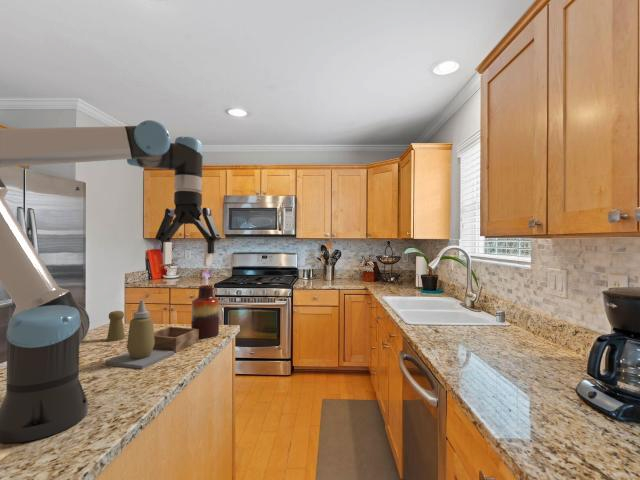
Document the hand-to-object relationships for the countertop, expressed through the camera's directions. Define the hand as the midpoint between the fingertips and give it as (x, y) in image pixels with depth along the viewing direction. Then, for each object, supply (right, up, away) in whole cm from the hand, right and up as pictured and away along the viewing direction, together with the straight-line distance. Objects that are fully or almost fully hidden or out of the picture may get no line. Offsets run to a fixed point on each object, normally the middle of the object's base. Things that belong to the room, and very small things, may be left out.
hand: (187, 264), depth 95 cm
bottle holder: (-16, -32, +26) cm, 44 cm away
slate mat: (-20, -32, +12) cm, 39 cm away
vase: (-9, -33, +41) cm, 53 cm away
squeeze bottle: (-20, -31, +12) cm, 39 cm away
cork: (-42, -32, +34) cm, 63 cm away
